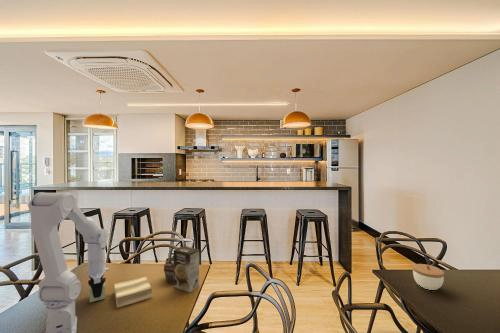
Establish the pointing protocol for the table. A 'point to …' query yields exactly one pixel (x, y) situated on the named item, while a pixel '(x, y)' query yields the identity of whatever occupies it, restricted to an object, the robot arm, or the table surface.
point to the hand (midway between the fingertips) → (97, 293)
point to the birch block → (132, 291)
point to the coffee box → (186, 268)
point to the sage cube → (98, 297)
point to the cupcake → (169, 269)
